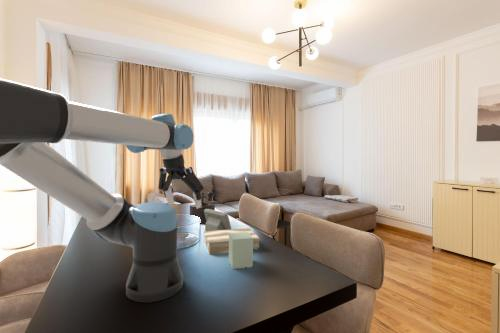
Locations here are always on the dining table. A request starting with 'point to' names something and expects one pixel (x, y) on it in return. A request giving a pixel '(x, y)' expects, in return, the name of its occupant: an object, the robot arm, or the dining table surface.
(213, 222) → the digital clock
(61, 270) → the dining table surface
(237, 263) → the sage block
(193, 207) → the dark brown irregular piece
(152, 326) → the dining table surface
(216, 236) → the birch box
